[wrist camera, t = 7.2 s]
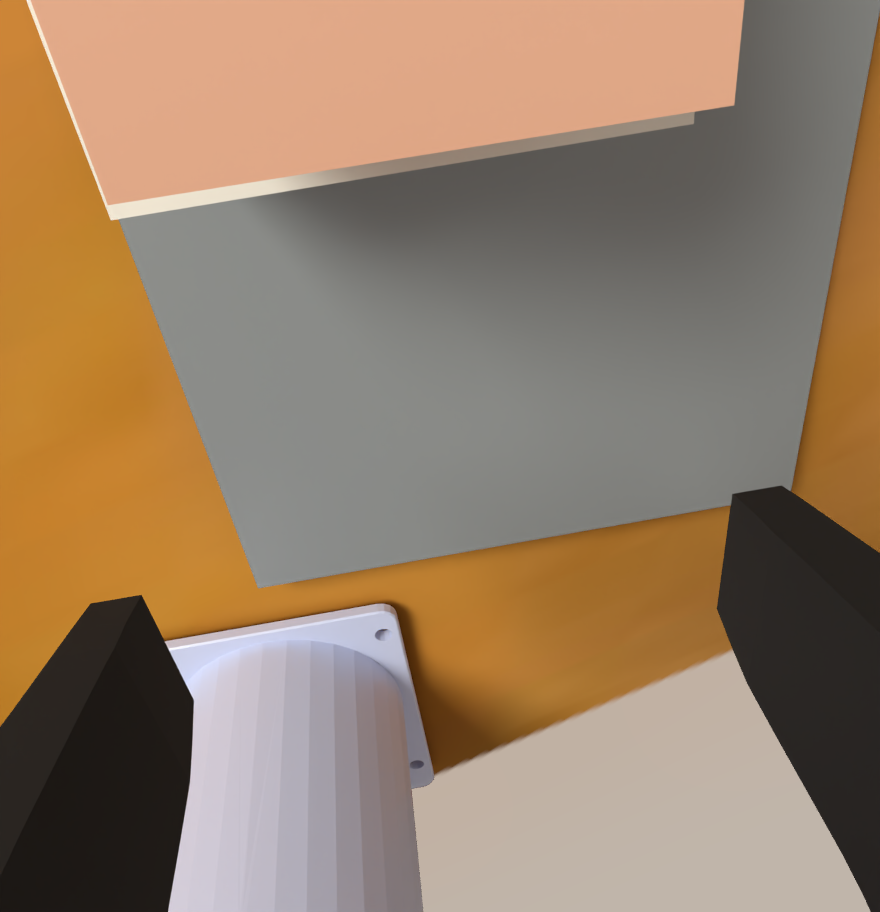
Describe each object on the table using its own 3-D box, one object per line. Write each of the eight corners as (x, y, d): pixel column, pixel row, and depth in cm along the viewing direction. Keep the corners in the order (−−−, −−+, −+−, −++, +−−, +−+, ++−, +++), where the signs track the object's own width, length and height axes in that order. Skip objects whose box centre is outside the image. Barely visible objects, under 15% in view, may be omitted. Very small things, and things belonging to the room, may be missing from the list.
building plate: (777, 477, 23) (790, 495, 22) (260, 567, 22) (258, 588, 22) (969, -664, 11) (1010, -696, 10) (-135, -502, 10) (-164, -527, 10)
